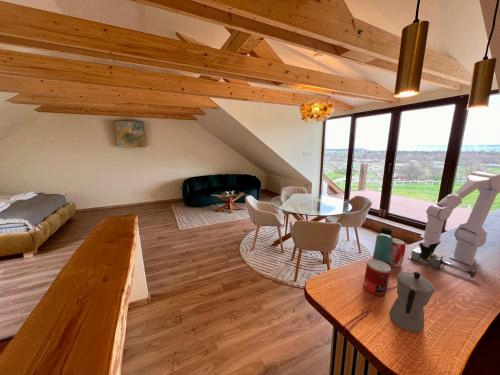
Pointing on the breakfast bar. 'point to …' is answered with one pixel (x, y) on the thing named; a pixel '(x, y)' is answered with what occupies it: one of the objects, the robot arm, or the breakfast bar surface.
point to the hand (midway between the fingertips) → (426, 255)
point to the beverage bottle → (383, 245)
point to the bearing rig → (433, 261)
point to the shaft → (459, 268)
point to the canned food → (376, 277)
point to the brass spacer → (428, 257)
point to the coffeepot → (411, 301)
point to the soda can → (397, 252)
